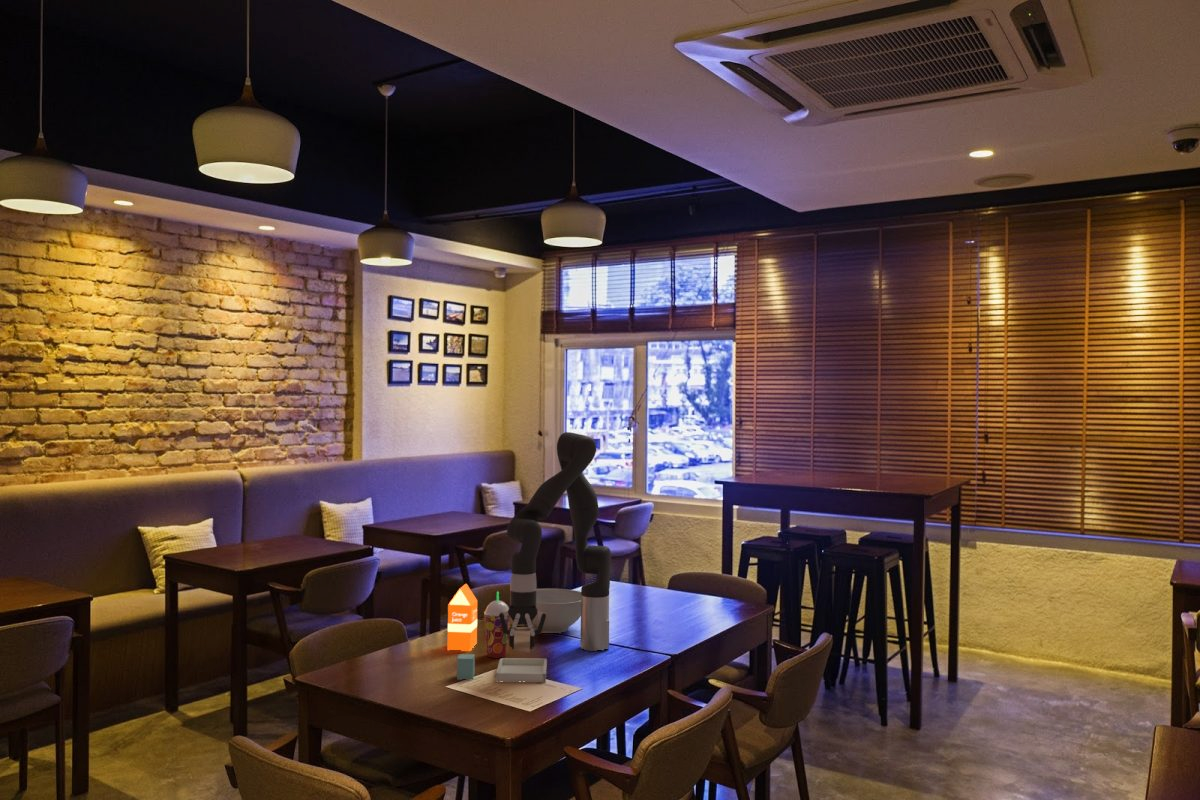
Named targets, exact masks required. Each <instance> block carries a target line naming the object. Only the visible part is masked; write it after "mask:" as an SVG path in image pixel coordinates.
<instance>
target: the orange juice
mask: <svg viewBox="0 0 1200 800" xmlns="http://www.w3.org/2000/svg"><path fill="white" fill-rule="evenodd" d="M478 601H479V600H478V599H477V598H476V596H475V595H474V593H473V591H472V590H471V588H470V587H469V585H468V584H467V583H465V584H463V585H462V586H461V587H460V588H458V590H457V592H456V593H455V594H454V595H453V598H452V599H451V600H450V601H449V603H448V604H447V645H446V646H447V648H446V649H447V651H449V650H461V651H460V652H471V651H472V650H473V649H474V648H475V647H476V646H475V645H476V644H477V645H478ZM474 646H475V647H474ZM472 648H473V649H472Z"/></svg>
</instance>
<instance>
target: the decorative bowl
mask: <svg viewBox="0 0 1200 800" xmlns="http://www.w3.org/2000/svg"><path fill="white" fill-rule="evenodd" d="M536 608H537V610H538V611H539V612H545V613H546V618H545V621H544V625H543V628H542V631H541V633H559V634H562V633H561V632H564V631H566V630H567V631H568V629H569V628H570V627H571V626H572V625H574V624H575V623H576V622H577V621H578V620H579V619H581V590H575V589H574V590H573V589H568V588H567V589H566V588H536ZM532 622H533V626H534V629H538V626H539V622H540V620H539V619H538V615H536V616H535V618H534V619H533V620H532ZM567 631H566V632H567ZM564 633H565V632H564Z"/></svg>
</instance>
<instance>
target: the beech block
mask: <svg viewBox="0 0 1200 800" xmlns="http://www.w3.org/2000/svg"><path fill="white" fill-rule="evenodd" d="M530 635H531V634H530V630H529V628H528V626H527V627H526V626H522V627H516V630H514V649H513V653H530V652H531V649H530Z"/></svg>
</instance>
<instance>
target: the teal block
mask: <svg viewBox="0 0 1200 800" xmlns="http://www.w3.org/2000/svg"><path fill="white" fill-rule="evenodd" d="M456 659H457V661H456V663H457V664H456V666H457V667H456V680H460V681H461V680H462V679H473V680H474V678H475V673H476V672H475V669H476V668H475V667H476V654H474V653H473V654H469V653H468V654H466V653H465V654H462V653H460V654H458V656H457V658H456ZM473 677H474V678H473ZM462 681H463V680H462Z"/></svg>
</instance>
